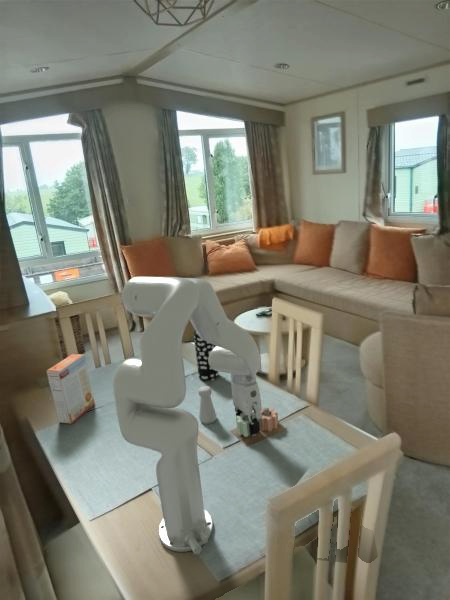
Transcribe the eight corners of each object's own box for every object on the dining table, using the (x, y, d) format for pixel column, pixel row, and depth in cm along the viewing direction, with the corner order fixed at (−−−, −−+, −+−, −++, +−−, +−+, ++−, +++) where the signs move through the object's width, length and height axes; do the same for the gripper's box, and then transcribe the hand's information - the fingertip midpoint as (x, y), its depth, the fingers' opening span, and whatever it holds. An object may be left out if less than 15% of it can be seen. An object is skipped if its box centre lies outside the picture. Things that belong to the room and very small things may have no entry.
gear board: (287, 431, 130) (285, 411, 128) (247, 450, 123) (245, 429, 121) (268, 417, 139) (267, 398, 137) (230, 434, 132) (228, 414, 130)
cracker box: (82, 402, 160) (72, 353, 154) (95, 404, 158) (85, 353, 152) (57, 423, 148) (45, 369, 142) (71, 424, 146) (59, 371, 140)
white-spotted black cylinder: (195, 375, 174) (190, 330, 168) (213, 370, 177) (209, 326, 171) (203, 383, 166) (197, 337, 161) (221, 377, 170) (217, 332, 164)
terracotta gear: (282, 423, 133) (281, 410, 132) (270, 434, 128) (270, 421, 126) (264, 417, 137) (263, 405, 136) (252, 427, 132) (251, 415, 131)
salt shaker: (214, 428, 136) (210, 392, 132) (198, 427, 137) (193, 392, 133) (218, 418, 141) (214, 383, 138) (202, 417, 142) (198, 383, 139)
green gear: (263, 431, 127) (262, 418, 126) (245, 439, 124) (243, 426, 123) (251, 421, 133) (250, 409, 132) (233, 428, 130) (232, 416, 129)
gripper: (271, 382, 118) (274, 436, 123) (238, 362, 132) (243, 411, 137) (248, 391, 114) (253, 446, 119) (218, 369, 129) (223, 419, 134)
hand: (247, 427), depth 128 cm, fingers closed on green gear, 6 cm apart
